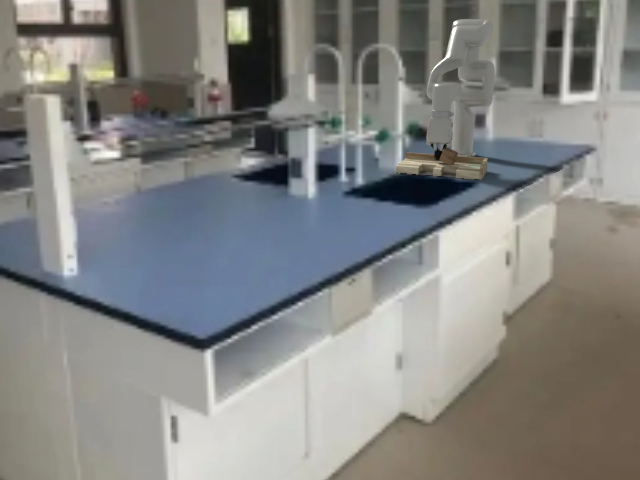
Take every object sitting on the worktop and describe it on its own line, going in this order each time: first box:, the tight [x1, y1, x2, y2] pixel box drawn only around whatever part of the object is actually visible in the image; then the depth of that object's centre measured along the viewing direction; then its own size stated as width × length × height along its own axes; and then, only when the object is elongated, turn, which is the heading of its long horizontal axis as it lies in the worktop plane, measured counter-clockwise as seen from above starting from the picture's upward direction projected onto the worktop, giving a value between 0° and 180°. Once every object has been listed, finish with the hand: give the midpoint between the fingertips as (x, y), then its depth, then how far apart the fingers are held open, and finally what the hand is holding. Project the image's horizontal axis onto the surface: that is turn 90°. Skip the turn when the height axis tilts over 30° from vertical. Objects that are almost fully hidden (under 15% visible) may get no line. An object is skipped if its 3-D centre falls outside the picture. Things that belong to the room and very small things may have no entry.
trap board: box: [395, 151, 489, 181], centre depth 285 cm, size 18×34×6 cm, turn 71°
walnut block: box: [439, 147, 459, 165], centre depth 286 cm, size 5×5×5 cm
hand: (437, 159), depth 289 cm, fingers closed
